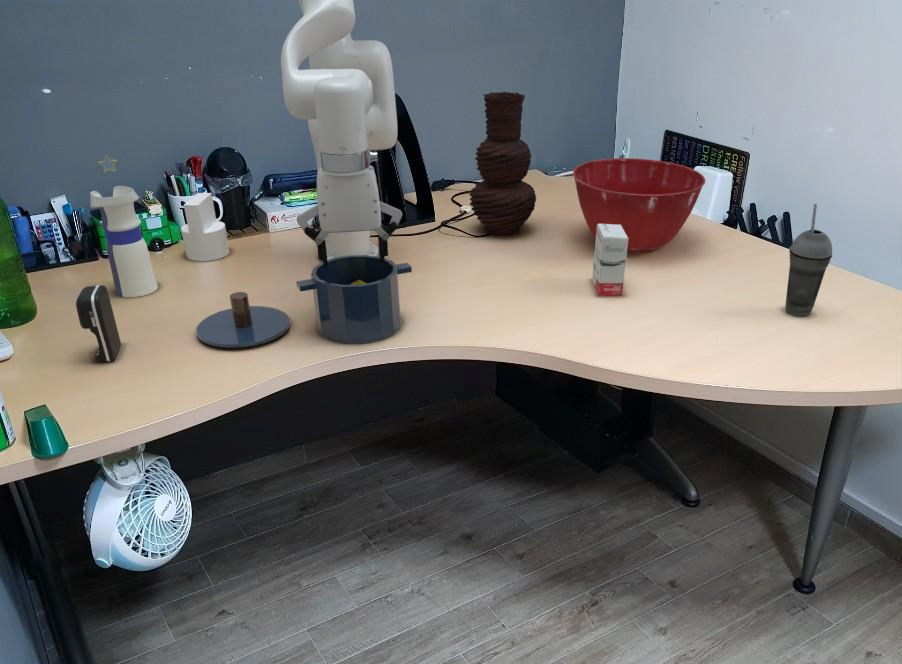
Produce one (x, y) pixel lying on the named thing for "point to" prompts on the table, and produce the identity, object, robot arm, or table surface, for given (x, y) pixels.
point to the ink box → (609, 259)
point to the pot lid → (242, 324)
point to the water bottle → (124, 240)
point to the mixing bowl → (638, 198)
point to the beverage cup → (807, 269)
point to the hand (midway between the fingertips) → (354, 262)
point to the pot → (356, 298)
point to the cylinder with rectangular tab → (203, 230)
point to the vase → (503, 168)
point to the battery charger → (99, 320)
